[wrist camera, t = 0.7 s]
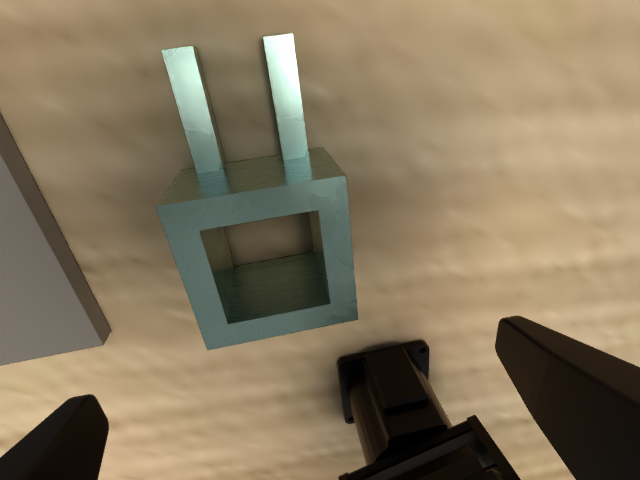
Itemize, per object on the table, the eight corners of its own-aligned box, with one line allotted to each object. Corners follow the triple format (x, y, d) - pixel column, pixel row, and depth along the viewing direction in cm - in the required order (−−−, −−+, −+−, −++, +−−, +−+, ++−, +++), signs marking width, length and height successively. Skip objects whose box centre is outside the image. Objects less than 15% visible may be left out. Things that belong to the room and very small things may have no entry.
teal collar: (336, 265, 21) (358, 319, 16) (217, 288, 20) (207, 350, 16) (310, 33, 15) (332, 19, 11) (146, 53, 15) (99, 48, 10)
